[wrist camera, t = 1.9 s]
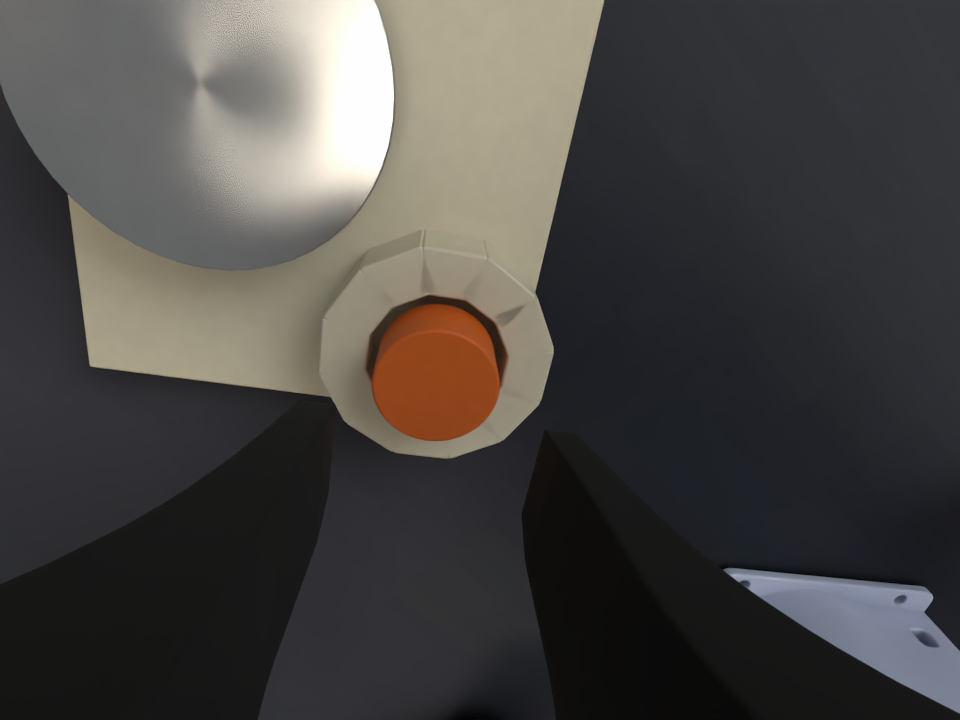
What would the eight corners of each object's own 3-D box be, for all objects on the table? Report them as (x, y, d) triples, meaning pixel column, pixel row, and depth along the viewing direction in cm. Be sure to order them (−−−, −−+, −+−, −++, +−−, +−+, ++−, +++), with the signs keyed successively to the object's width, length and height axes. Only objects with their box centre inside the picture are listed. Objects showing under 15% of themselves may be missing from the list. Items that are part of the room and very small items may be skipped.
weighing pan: (419, -104, 10) (418, -108, 10) (376, 290, 13) (375, 294, 13) (-43, -218, 9) (-58, -228, 9) (30, 237, 12) (21, 240, 12)
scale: (619, -29, 13) (663, -57, 11) (512, 413, 19) (524, 468, 16) (56, -164, 12) (-59, -239, 9) (112, 362, 17) (50, 414, 14)
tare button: (504, 311, 14) (511, 340, 13) (482, 412, 15) (487, 449, 14) (385, 294, 14) (378, 320, 12) (373, 398, 15) (365, 434, 14)
